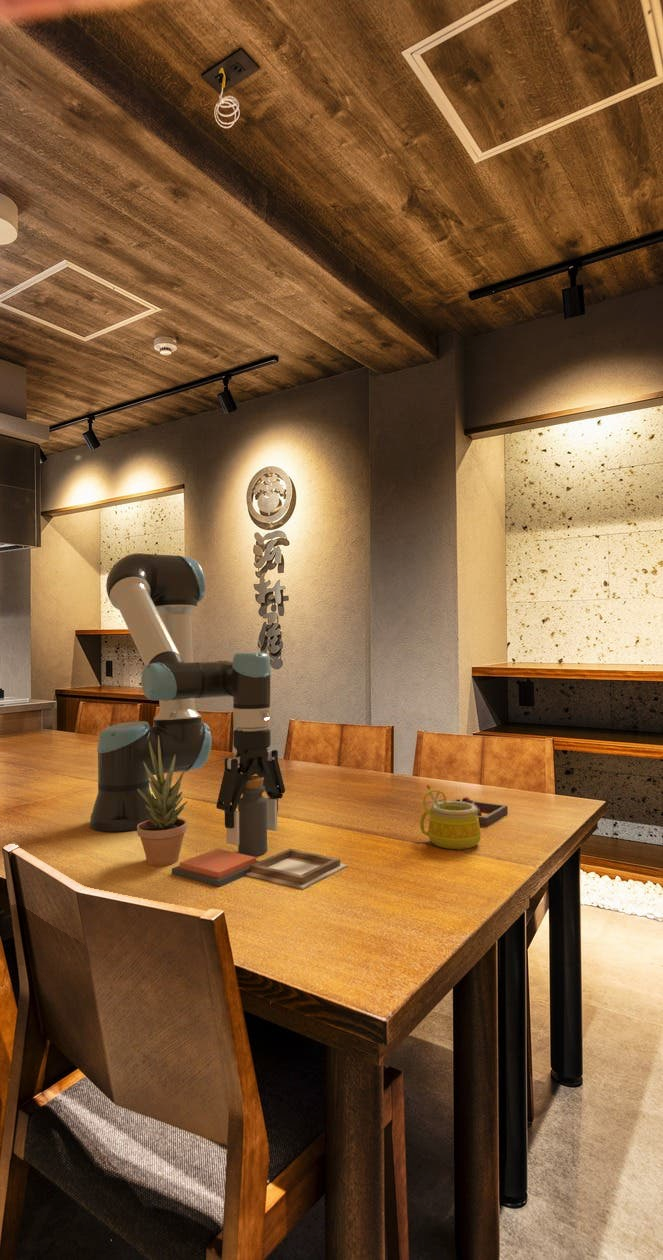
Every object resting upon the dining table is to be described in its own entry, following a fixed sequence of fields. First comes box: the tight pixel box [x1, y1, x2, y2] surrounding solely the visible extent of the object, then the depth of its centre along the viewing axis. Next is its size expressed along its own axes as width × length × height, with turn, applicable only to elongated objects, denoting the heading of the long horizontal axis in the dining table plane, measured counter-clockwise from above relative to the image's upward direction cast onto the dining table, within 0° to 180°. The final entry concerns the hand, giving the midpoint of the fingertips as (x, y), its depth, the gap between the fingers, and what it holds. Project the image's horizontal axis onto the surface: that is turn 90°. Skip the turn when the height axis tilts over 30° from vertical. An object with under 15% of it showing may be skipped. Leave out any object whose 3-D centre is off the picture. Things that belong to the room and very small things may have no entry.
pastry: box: [460, 796, 483, 816], centre depth 164 cm, size 8×8×5 cm
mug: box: [419, 784, 481, 850], centre depth 142 cm, size 13×11×12 cm
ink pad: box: [171, 848, 260, 888], centre depth 126 cm, size 12×12×2 cm
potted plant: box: [136, 735, 188, 867], centre depth 132 cm, size 10×10×25 cm
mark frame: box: [245, 848, 349, 890], centre depth 126 cm, size 14×14×2 cm
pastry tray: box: [451, 798, 509, 828], centre depth 164 cm, size 14×14×2 cm
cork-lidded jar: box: [237, 775, 268, 857], centre depth 138 cm, size 6×6×15 cm
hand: (252, 836), depth 138 cm, fingers open, 11 cm apart
